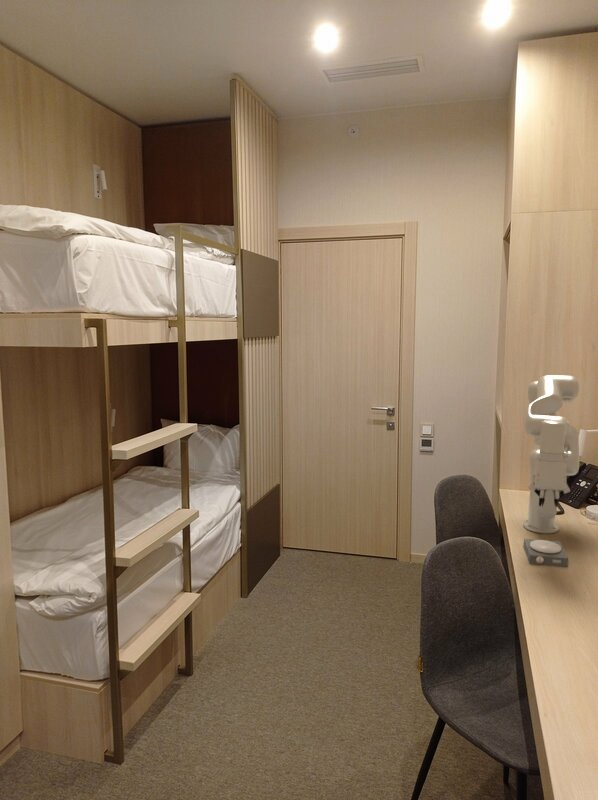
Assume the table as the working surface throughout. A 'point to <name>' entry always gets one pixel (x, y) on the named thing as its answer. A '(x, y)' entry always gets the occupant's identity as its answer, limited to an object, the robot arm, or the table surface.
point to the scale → (545, 552)
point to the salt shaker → (548, 505)
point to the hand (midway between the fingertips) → (547, 508)
